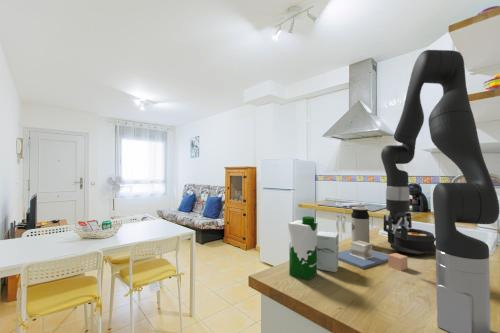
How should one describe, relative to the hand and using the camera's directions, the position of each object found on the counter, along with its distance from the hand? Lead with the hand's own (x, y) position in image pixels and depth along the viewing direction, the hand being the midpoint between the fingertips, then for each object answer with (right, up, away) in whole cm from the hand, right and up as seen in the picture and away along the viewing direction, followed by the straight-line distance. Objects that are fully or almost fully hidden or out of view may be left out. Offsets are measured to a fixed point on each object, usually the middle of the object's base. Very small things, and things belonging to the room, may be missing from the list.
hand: (398, 241), depth 90 cm
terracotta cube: (0, -10, 0) cm, 10 cm away
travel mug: (-1, -10, +28) cm, 30 cm away
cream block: (-9, -9, +10) cm, 16 cm away
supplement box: (-27, -10, 0) cm, 29 cm away
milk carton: (-37, -10, -6) cm, 39 cm away
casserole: (+19, -10, +20) cm, 30 cm away
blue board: (-9, -10, +9) cm, 17 cm away
